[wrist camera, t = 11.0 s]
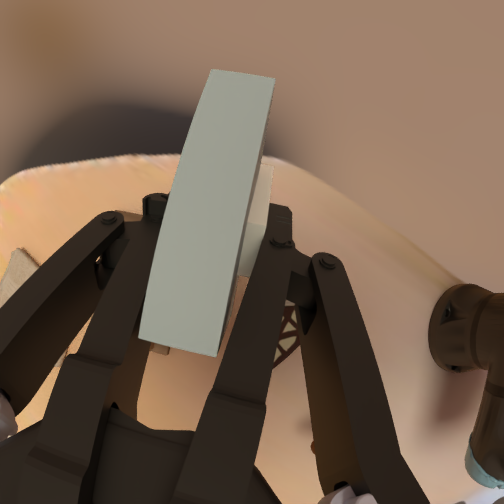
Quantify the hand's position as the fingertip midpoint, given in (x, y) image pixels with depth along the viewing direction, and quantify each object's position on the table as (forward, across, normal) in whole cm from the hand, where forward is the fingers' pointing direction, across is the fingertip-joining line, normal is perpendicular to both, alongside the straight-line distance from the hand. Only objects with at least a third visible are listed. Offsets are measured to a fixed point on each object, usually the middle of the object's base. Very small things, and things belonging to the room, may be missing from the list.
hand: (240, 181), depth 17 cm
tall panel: (0, 0, -6) cm, 6 cm away
